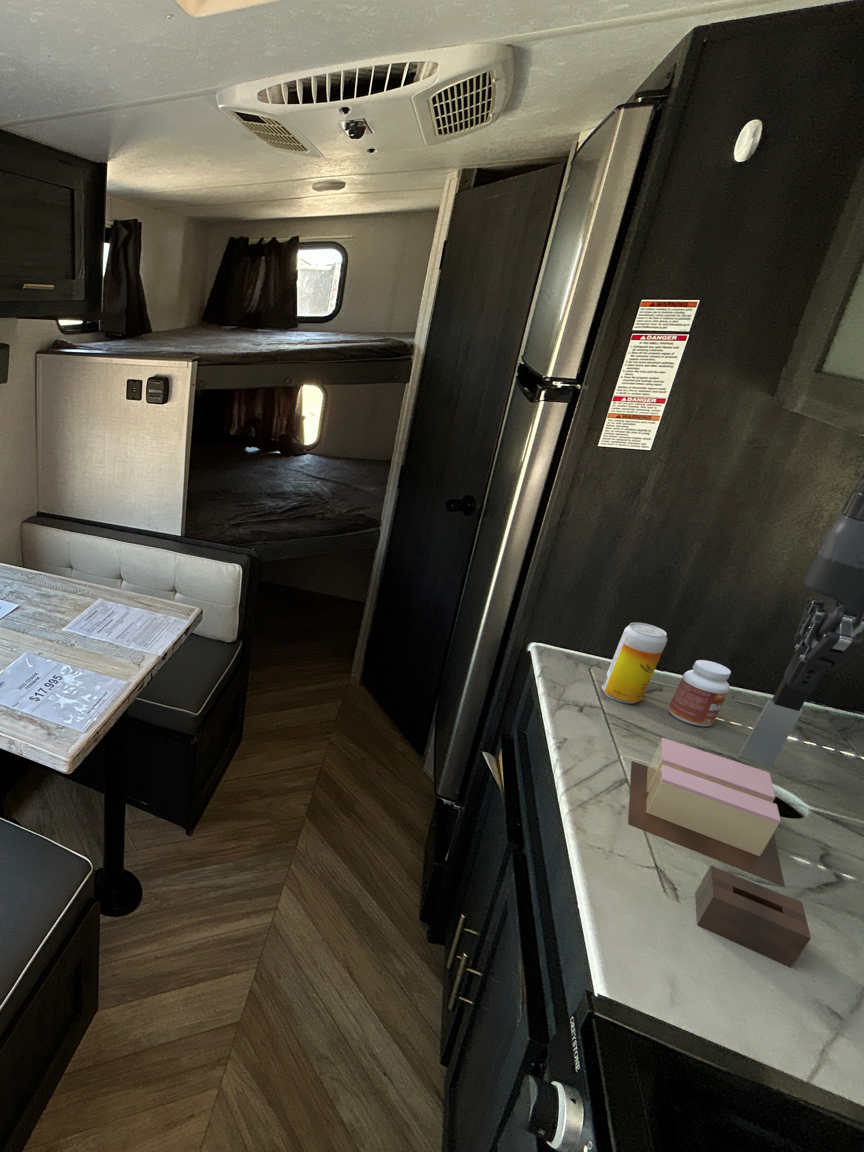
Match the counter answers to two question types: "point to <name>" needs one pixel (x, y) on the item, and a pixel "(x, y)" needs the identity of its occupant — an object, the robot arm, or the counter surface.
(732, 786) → the cake
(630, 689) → the beer can
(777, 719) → the knife
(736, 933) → the knife block
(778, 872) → the cake board
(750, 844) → the cake slice
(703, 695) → the pill bottle
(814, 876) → the counter surface
